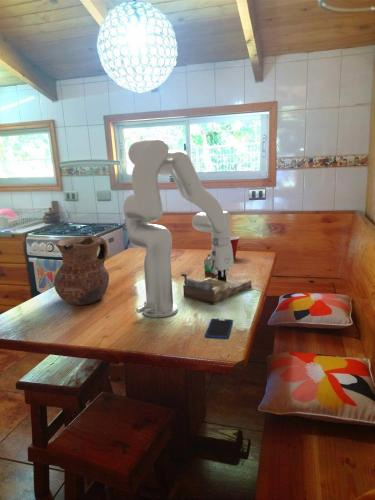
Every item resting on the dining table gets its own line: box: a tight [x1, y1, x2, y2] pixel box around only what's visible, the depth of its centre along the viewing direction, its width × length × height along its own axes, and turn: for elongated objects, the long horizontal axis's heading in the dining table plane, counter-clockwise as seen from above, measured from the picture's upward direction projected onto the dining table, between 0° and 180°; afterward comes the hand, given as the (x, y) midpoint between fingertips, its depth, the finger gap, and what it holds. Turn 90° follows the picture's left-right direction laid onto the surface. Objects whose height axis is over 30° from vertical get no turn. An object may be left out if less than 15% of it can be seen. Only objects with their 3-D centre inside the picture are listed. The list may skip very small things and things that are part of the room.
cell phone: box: [204, 318, 234, 340], centre depth 114 cm, size 7×14×1 cm, turn 167°
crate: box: [201, 278, 230, 295], centre depth 144 cm, size 11×11×4 cm
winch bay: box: [181, 273, 252, 306], centre depth 147 cm, size 27×16×10 cm, turn 137°
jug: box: [53, 235, 110, 306], centre depth 144 cm, size 22×21×25 cm
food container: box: [203, 253, 218, 279], centre depth 168 cm, size 12×6×10 cm, turn 168°
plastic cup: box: [230, 236, 240, 260], centre depth 203 cm, size 11×11×12 cm
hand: (222, 284), depth 149 cm, fingers closed
